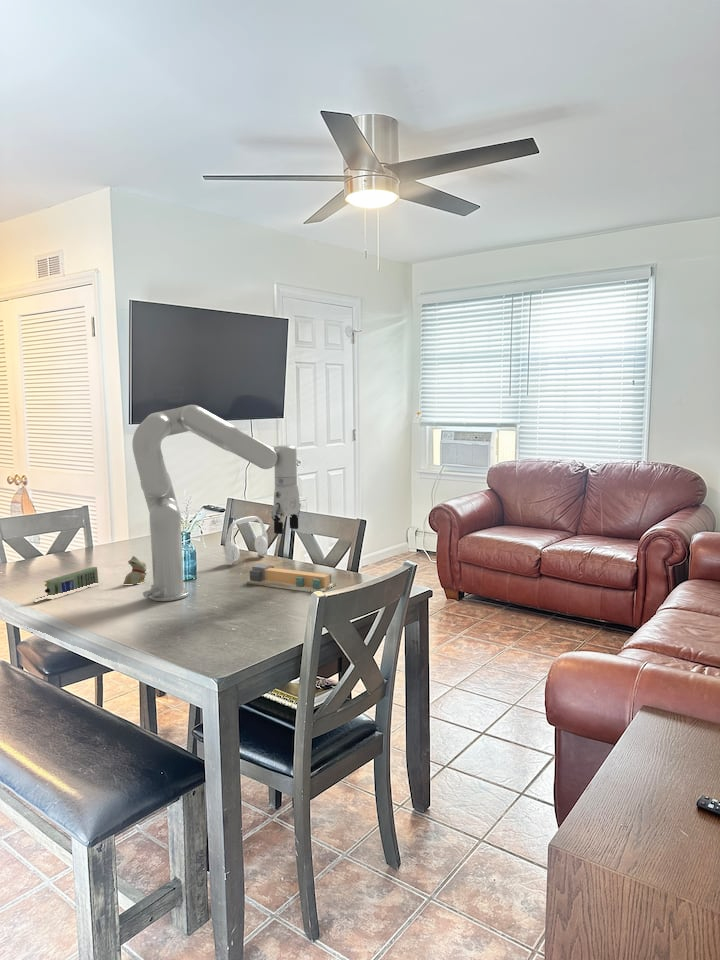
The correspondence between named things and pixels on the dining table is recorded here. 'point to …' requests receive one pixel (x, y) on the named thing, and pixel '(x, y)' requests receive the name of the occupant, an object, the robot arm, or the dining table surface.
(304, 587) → the clip holder
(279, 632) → the dining table surface
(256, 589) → the dining table surface
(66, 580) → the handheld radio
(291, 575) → the grey-capped wooden beam
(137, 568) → the chocolate bunny
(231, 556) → the headset
